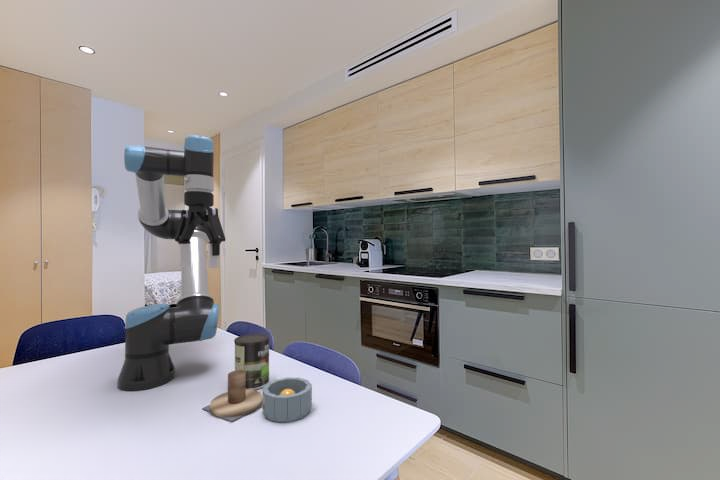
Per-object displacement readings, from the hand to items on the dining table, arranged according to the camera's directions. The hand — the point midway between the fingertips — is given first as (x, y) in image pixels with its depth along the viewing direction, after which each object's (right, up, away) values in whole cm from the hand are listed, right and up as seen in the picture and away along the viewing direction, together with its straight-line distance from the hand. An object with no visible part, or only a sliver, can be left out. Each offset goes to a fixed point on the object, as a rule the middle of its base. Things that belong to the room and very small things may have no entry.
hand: (198, 267), depth 94 cm
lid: (+13, -36, -6) cm, 39 cm away
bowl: (+27, -36, -8) cm, 46 cm away
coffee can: (+12, -37, +8) cm, 40 cm away
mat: (+13, -36, -6) cm, 39 cm away
